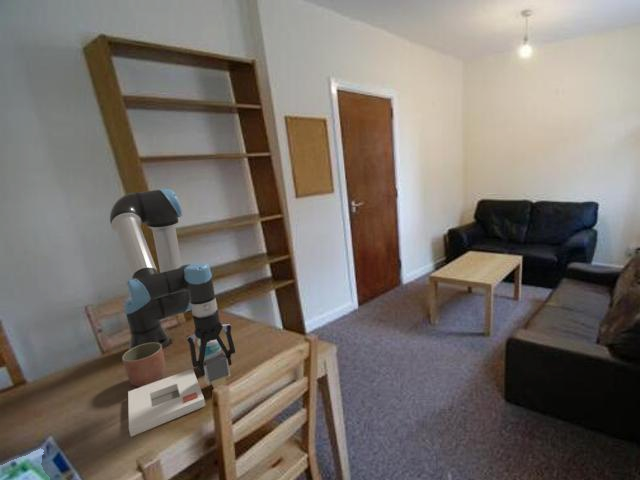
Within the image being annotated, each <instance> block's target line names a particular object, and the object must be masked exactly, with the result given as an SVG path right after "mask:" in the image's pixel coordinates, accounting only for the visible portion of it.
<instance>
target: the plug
mask: <svg viewBox="0 0 640 480" xmlns="http://www.w3.org/2000/svg"><path fill="white" fill-rule="evenodd" d="M222 351H223V350H221V351H218V352H215V353H213V354H210V355H207V356H205V357H204V362H205V365H206V368H207V373H208V378H209V383H211V385H212V388H213V389H214V388H215V387H217V386H218V385H222V384H227V385H228V383H227V378H226V377H228V376H227V375H229V373H228V368H227V362H226V358H225V356H224V355H225V353H224V352H222Z"/></svg>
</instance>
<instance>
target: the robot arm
mask: <svg viewBox="0 0 640 480" xmlns="http://www.w3.org/2000/svg"><path fill="white" fill-rule="evenodd" d="M182 216H183V210H182V206H181V203H180V201H179V198H178V196H177V194H176V193H175V192H174V191H173V189H168V188H167V189H165V188H164V189H162V188H160V189H154V190H146V191H139V192H130V193H127V194H124V195H123V196H121V197H120V198H119V199H117V201H116V202H115V203H114V204H113V206H112V208H111V211H110V215H109V221H110V225H111V229H112V230H113V232H115V233H116V234H117V237H118V240H119V242H120V247H121V249H122V252H123V255H124V258H125V262H126V264H127V267H128V270H129V274H130V277H131V279H129V280H128V281H127V283H126V288H127V291H128V294H129V297H128V298H127V299H126V300H125V301H124V303H123V308H124V314H125V316H126V321H127V325H128V329H129V333H130V337H129V338H130V339H129V346H128V347H129V348H128V350H130V349H132V348H134V347H136V346H139V345H142V344H145V343H152V342H156V343H160V344H161V345H162V350H163V349H165V348H166V347H168V345H169V344H170V337H169V335H168V333H167V332H166V330H165V329H164V328H163V326H162V323H161V320H163V319H164V320H165V319H168V318H171V317H174V316H177V315H181V314H185V313H186V312H188V311H191V314H192V315H193V322H194V328H195V329H194V333H192V334H191V335H187V336H186V340H187V343H188V345H189V351H190V358H191V359H190V361H191V364H192V367H193V368H199V373H200V375H201V376H202V377H203V376H204V380H205V382H206V385H207V386H209V385H210V384H211V382H210V381H209V378H208V373H207V368H206V365H205V362H204V357H205V350H206V346H207V342H209V341H211V340H217V341H218V343H219V345H220V346H221V351H223V354H224V356H225V358H226V362H227V368H228V373H229V375H227V376H226V377H228V378H229V377H231V372H230V366H232V364H233V363H232V358H231V357H232V355H233V354H235V353H236V349H235V344H234V341H233V337H232V336H233V335H232V331H231V330H232V326H231V324H230V323H228V322H227V323H225V324H222V323H221V320H220V315H219V311H218V304H217V299H216V294H215V288H214V284H213V273H212V271H211V267H210V265H209V264H208V263H206V262H197V263H196V262H195V263H192V264H191V263H183V264H182V259H181V254H180V253H181V252H180V247H179V242H178V241H179V240H178V235H177V230H176V229H177V228H176V226H177V225H178V224H179V218H181V217H182ZM142 224H146V226H147V227H148V228H149V229H151V232H152V234H153V235H152V236H153V240H154V247H155V251H156V256H157V262H158V267H159V272H158V269H157V267H156V264H155V261H154V259H153V256H152V254H151V253H152V252H151V251H150V248H149V246H148V243H147V240H146V238H145V235H144V232H143V230H142ZM222 330H223V331H224V333H225V337H226V339H227V343H228V348H227V347H226V345H225V344H224V342H223V341H222V338H221V337H220V335H221V332H222ZM196 338H198V339H200V340H201V345H200V352H199V353H198V360H197V354H196V353H197V352H196V345H195V341H196Z"/></svg>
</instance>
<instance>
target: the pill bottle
mask: <svg viewBox="0 0 640 480" xmlns="http://www.w3.org/2000/svg"><path fill="white" fill-rule="evenodd" d="M200 345H201V340H200V339H199V338H198V339H197V347H198V351H199V352H200ZM218 351H222V348H221V346H220V345H219V343H218V341H217V340H211V341H209V342H207V346H206V350H205V356H207V355H210V354H213V353H215V352H218Z"/></svg>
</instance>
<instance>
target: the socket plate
mask: <svg viewBox="0 0 640 480" xmlns="http://www.w3.org/2000/svg"><path fill="white" fill-rule="evenodd" d="M127 393H128V395H127V397H128V401H127V402H128V405H127V406H128V431H129V434H130V435H129V436H130V437H131V438H132V437H133V436H137V435H139V434H141V433H144V432H146V431H148V430H150V429H153V428H156V427H159V426H161V425H163V424H165V423H168V422H170V421H172V420H175V419H177V418H180V417H182V416H185V415H188V414H190V413H193V412H195V411H197V410H199V409H202V408H204V407H206V406H207V405H206V402H205V401H206V400H205V398H204V395H203V392H202V389H201V386H200V384H199V381H198V378H197V376H196V374H195V370H194V368H191V369H188V370H184V371H182V372H179V373H176V374H174V375H171V376H168V377H165V378H161V379H159V380H158V381H156V382H153V383H151V384H148V385H145V386H142V387H137V388H133V389H132V390H128V391H127Z"/></svg>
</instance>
